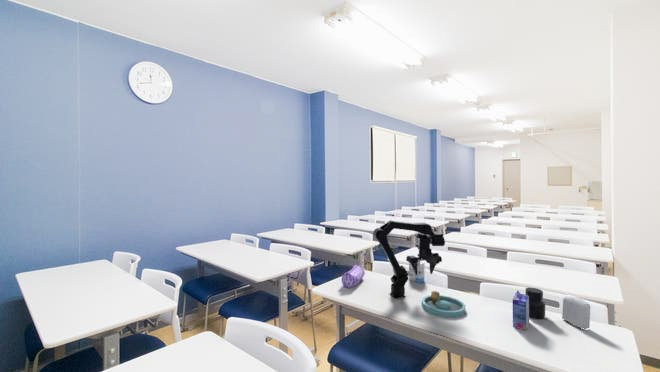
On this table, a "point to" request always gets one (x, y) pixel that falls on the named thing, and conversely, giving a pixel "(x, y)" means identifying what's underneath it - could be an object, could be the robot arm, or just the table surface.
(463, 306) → the round tray
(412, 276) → the ink box
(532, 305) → the ink bottle
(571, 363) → the table surface
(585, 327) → the photo printer
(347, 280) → the pencil case
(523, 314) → the ink cartridge box
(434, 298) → the wooden bead
